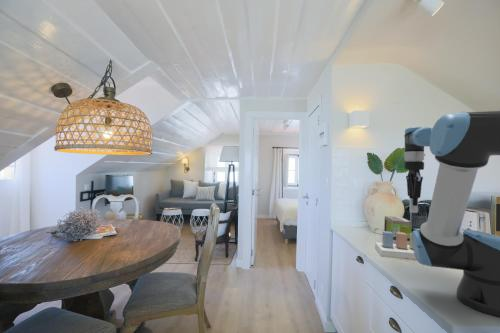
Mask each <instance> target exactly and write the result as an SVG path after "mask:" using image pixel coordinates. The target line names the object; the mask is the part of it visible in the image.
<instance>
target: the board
mask: <svg viewBox="0 0 500 333" xmlns="http://www.w3.org/2000/svg"><path fill="white" fill-rule="evenodd" d="M374 248H375V250H376V251H377V252H378V253H379V254H380V256H381V257H387V258H398V259H406V258H408V260H416V257H415V254H414V250H413V249H412V248H411V247H410V245H407V248H398V247H397V246H396V244H393V247H387V246H384V245H383V244H382V242H376V241H375V242H374Z"/></svg>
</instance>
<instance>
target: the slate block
mask: <svg viewBox="0 0 500 333" xmlns="http://www.w3.org/2000/svg"><path fill="white" fill-rule="evenodd" d="M381 243H382V244H383V245H384V246H387V247H393V233H392V232H389V231H384V230H382V242H381Z"/></svg>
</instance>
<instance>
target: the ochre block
mask: <svg viewBox="0 0 500 333" xmlns="http://www.w3.org/2000/svg"><path fill="white" fill-rule="evenodd" d="M410 247H411V248H412V249H413V245H412V232H411V233H410Z"/></svg>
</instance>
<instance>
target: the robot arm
mask: <svg viewBox="0 0 500 333" xmlns="http://www.w3.org/2000/svg"><path fill="white" fill-rule="evenodd" d="M403 136H404V137H403V138H404V157H403V158H404V159H403V160H404V164H403V165H404V166H403V168H404V170H405V171H406V170H407V171H408V173H407V175H406V176H405V180H406V186H407V187H406V188H407V196H408V198H409V213H413V214H418V213H419V199H420V198H421V195H422V183H423V179H424V177H423V176H421V172H420V171H421V170H422V171H423V170H424V169H425V162H424V160H425V156H426V153H425V147H429V151H430V153H431V154H432V155H434V159H435V160H436V162H438V163H439V164H438V165H439V166H438V169H437V170H438V171H437V175H436V180H435V184H434V189H433V193H432V198H431V201H430V207H429V212H428V216H427V220H426V221H425V222H423V223H422V224H421V225H420V227H419V230H418V229H416V230H413V231H411V233H412V245H413V250H414V254H415V257H416V259H417V260H416V259H415V260H416V261H417V262H418V263H419V264H420V265H422V266H427V267H431V268H432V267H435V268H442V269H443V268H444V269H450V270H459V271H462V272H463V275H462V277H461V280H460V282H459V284H458V286H457V288H456V298H457V299H458V300H459V302H461V303H462V304H464V305H465V306H468V307H469V308H471V309H473V310H476V311H479V312H482V313H485V314H487V315H491V316H495V317H500V236H499V235H496V234H493V233H489V232H484V231H479V230H474V229H464V230H463V232H461V231H460V230H461V227H462V223H463V221H464V218H465V214H466V211H467V206H468V204H469V200H470V196H471V193H472V190H473V187H474V183H475V180H476V177H477V174H478V170H480V169H482V168H484V167H486V166H487V165H488V162H489V160H490V158H491V156H500V110H490V111H489V110H488V111H487V110H486V111H469V112H468V111H467V112H466V111H461V112H455V113H454V112H453V113H447V114H444V115H441V117H440V118H438V119H437V120H436V122H435V123H434V125H433V126H432V127H425V126H424V127H423V126H410V127H407V128H405V130H404V135H403Z"/></svg>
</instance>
